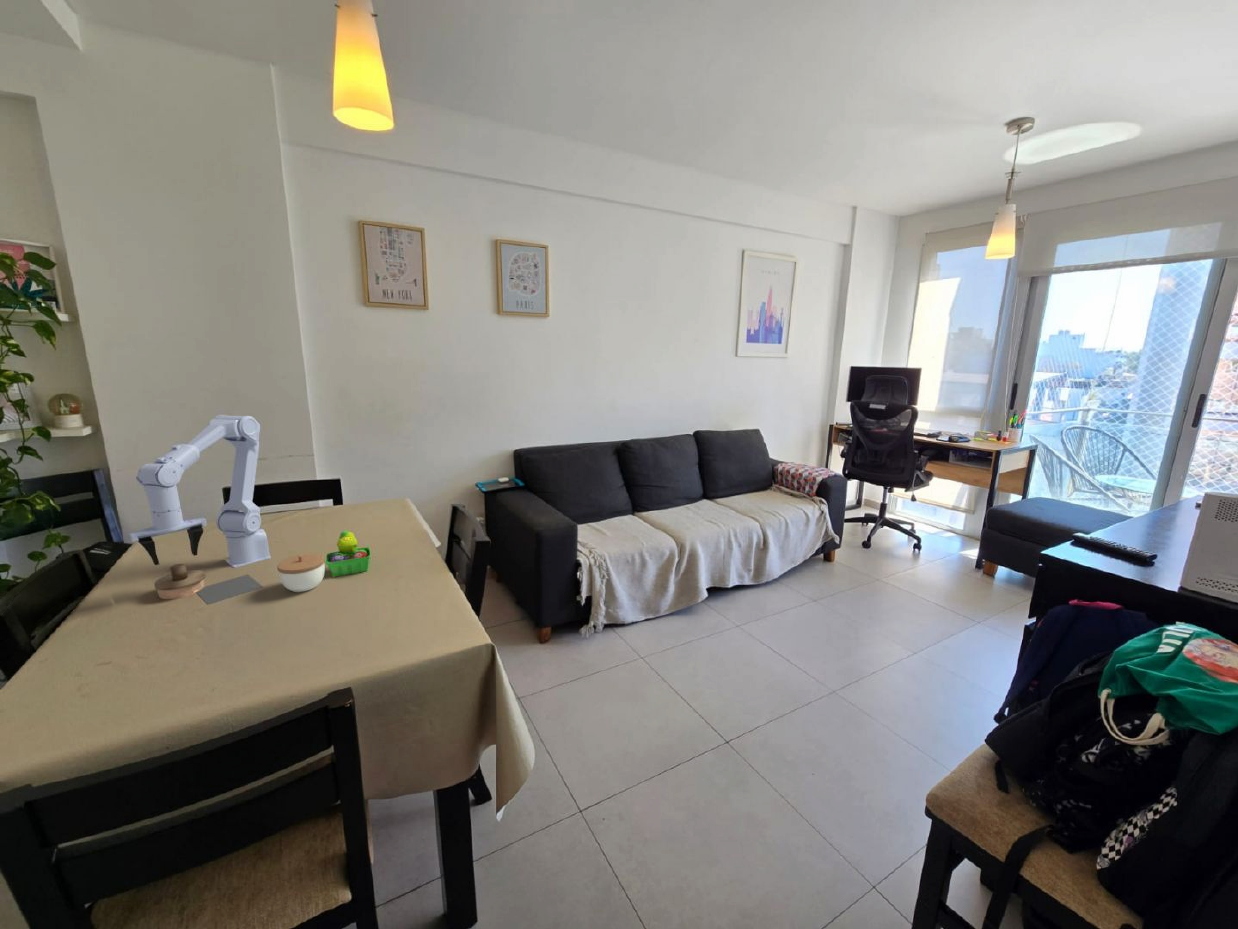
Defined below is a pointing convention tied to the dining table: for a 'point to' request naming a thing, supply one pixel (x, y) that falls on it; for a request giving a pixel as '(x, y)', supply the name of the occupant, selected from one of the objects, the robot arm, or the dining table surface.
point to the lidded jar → (302, 572)
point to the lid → (179, 578)
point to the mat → (228, 589)
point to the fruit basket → (348, 556)
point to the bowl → (181, 591)
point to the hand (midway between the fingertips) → (175, 559)
